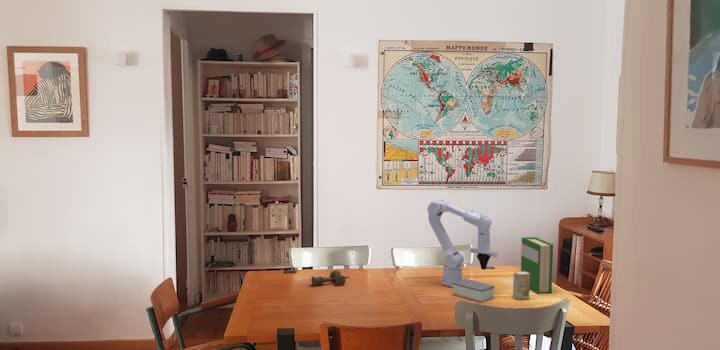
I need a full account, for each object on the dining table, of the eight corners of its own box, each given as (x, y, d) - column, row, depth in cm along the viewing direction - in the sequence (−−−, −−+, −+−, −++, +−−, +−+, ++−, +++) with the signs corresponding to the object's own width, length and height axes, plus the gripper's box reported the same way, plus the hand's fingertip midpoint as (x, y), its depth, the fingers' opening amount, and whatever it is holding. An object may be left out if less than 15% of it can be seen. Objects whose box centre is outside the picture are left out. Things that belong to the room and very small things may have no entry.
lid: (452, 284, 257) (452, 282, 257) (465, 280, 264) (465, 278, 264) (481, 291, 245) (481, 290, 245) (494, 287, 252) (494, 285, 252)
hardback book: (551, 293, 260) (553, 244, 258) (537, 294, 258) (538, 245, 256) (534, 283, 277) (535, 237, 275) (520, 283, 276) (521, 237, 274)
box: (452, 294, 258) (453, 284, 257) (465, 290, 264) (465, 280, 264) (481, 302, 246) (481, 291, 246) (493, 297, 253) (493, 287, 252)
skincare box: (517, 300, 249) (518, 274, 248) (512, 297, 253) (513, 271, 252) (529, 299, 251) (530, 273, 250) (524, 296, 255) (525, 271, 254)
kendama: (309, 284, 276) (346, 280, 282) (314, 290, 267) (352, 285, 273) (309, 273, 275) (346, 268, 281) (314, 278, 266) (352, 274, 272)
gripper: (501, 242, 261) (501, 270, 262) (476, 238, 271) (476, 265, 272) (493, 244, 256) (492, 272, 257) (467, 240, 267) (467, 267, 268)
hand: (483, 269), depth 264 cm, fingers closed
